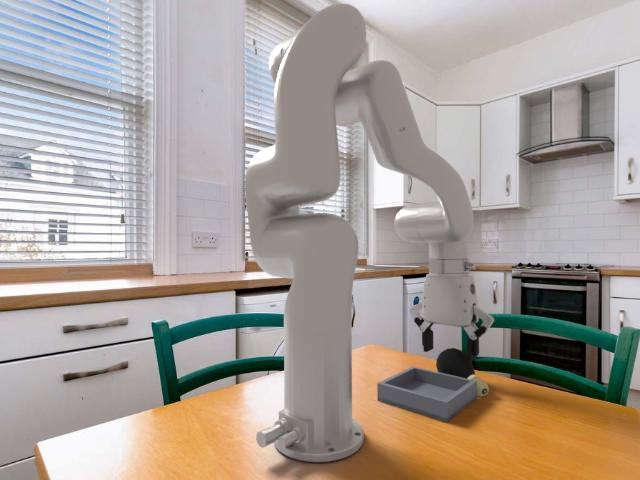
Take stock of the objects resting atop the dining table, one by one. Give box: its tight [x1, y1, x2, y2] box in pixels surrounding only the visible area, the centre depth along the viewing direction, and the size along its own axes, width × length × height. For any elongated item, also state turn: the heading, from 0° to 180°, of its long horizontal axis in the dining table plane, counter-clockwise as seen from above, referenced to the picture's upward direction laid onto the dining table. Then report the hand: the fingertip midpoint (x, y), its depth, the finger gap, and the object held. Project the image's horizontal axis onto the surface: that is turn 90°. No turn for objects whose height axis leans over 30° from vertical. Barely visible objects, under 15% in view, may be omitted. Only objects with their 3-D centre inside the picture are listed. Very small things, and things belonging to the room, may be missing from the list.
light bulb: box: [435, 347, 490, 398], centre depth 73 cm, size 7×7×12 cm
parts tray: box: [376, 365, 478, 423], centre depth 67 cm, size 13×13×3 cm
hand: (449, 354), depth 77 cm, fingers open, 8 cm apart
